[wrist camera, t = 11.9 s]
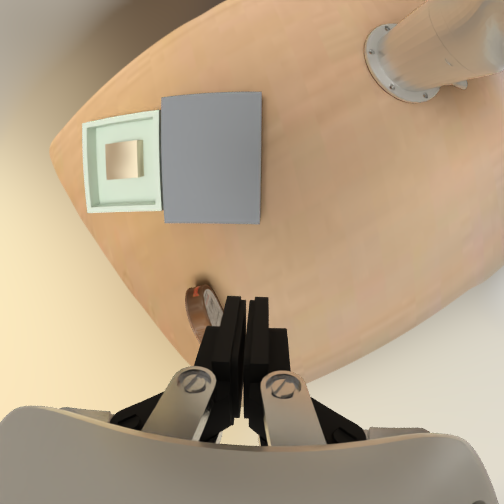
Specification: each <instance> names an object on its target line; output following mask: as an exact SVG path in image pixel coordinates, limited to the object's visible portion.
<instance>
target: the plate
mask: <svg viewBox="0 0 504 504" xmlns="http://www.w3.org/2000/svg"><path fill="white" fill-rule="evenodd" d="M261 131H262V93H261V92H220V93H202V94H190V95H179V96H170V97H162V99H161V158H162V186H163V204H164V219H165V223H222V224H260V202H261Z"/></svg>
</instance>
